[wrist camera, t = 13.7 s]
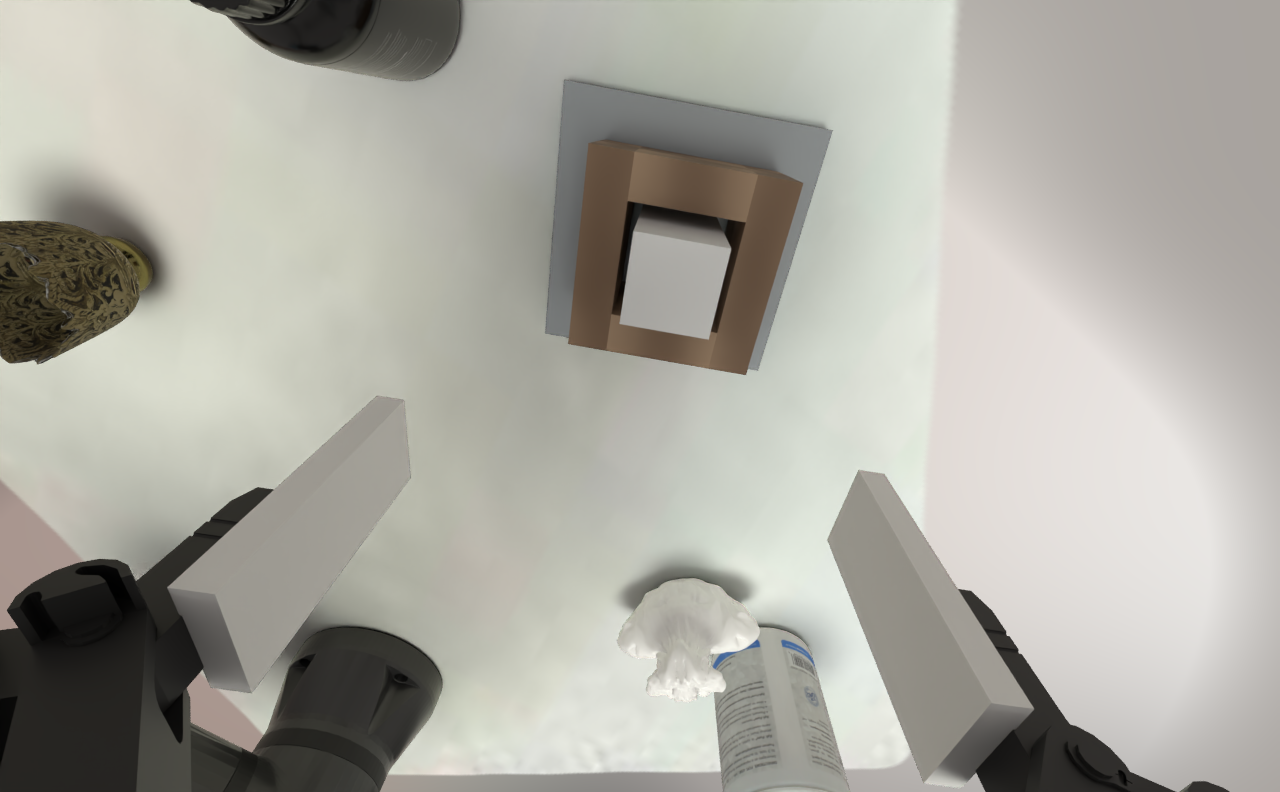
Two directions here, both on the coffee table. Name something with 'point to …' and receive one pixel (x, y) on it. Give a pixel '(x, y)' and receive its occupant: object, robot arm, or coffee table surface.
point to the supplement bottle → (351, 32)
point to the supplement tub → (775, 720)
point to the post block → (667, 238)
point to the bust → (686, 636)
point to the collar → (691, 185)
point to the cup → (63, 287)
